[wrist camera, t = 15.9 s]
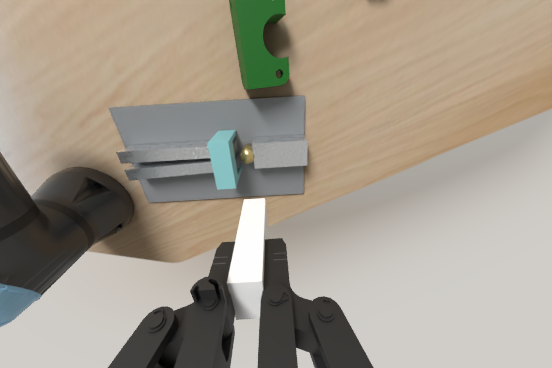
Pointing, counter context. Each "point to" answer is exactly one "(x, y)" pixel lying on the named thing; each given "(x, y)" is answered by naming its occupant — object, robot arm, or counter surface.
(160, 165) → the arm
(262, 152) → the tongs body
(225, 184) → the collar
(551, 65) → the counter surface
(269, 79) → the clamp
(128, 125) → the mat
